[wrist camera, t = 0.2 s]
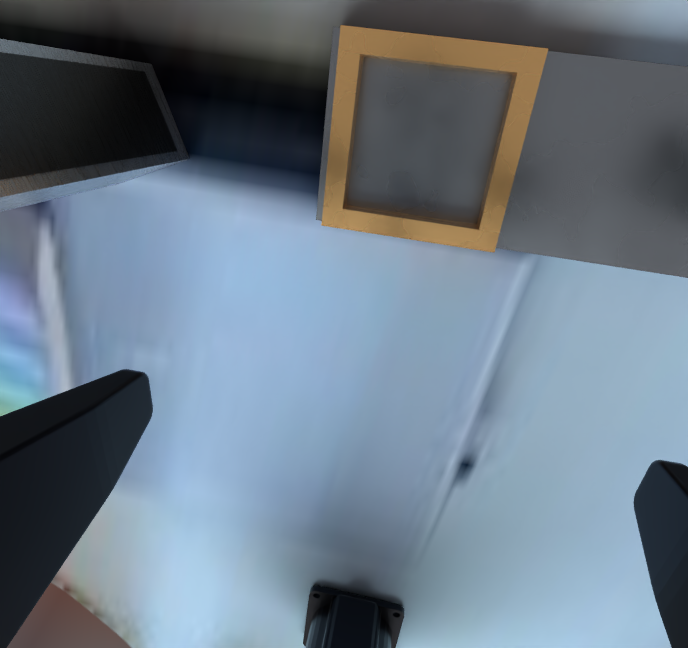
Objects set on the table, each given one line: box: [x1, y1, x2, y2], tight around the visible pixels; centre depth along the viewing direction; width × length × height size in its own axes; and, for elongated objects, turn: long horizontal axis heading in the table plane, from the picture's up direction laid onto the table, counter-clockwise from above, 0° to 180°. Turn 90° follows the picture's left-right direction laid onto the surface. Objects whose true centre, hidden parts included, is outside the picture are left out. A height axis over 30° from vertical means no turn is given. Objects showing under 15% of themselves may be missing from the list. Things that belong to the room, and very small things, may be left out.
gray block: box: [0, 39, 190, 212], centre depth 16 cm, size 4×4×12 cm
